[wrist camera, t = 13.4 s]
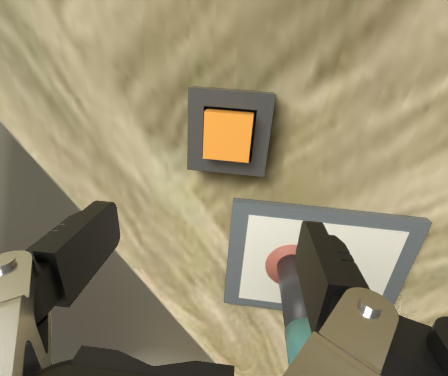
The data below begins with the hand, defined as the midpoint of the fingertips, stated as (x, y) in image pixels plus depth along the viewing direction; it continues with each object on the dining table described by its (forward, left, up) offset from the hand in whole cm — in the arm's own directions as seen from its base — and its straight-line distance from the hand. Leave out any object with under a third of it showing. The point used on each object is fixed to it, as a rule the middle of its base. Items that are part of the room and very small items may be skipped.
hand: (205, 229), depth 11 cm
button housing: (0, -1, -18) cm, 18 cm away
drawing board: (-12, +15, -18) cm, 26 cm away
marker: (-9, +15, -17) cm, 24 cm away
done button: (0, -1, -16) cm, 16 cm away
